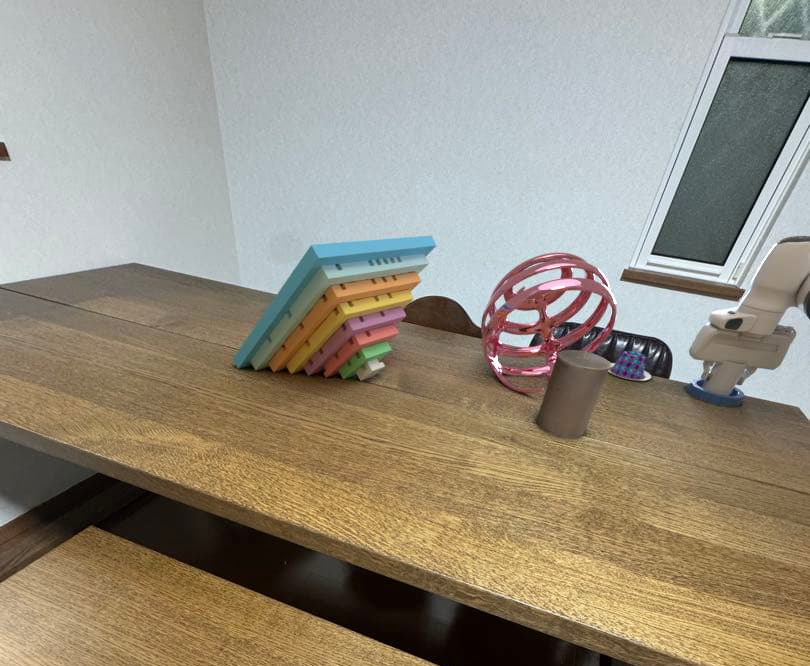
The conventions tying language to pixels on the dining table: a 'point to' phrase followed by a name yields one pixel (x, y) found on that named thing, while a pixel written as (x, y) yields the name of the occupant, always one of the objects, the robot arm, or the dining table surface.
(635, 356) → the pudding
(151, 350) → the dining table surface
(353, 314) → the rainbow stepped pyramid
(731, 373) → the cup
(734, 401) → the tape ring
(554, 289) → the spiral basket
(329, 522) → the dining table surface
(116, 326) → the dining table surface
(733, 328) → the robot arm
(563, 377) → the pillar candle
